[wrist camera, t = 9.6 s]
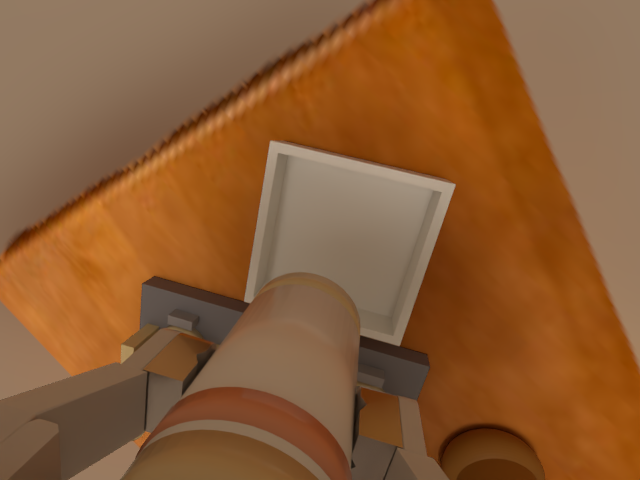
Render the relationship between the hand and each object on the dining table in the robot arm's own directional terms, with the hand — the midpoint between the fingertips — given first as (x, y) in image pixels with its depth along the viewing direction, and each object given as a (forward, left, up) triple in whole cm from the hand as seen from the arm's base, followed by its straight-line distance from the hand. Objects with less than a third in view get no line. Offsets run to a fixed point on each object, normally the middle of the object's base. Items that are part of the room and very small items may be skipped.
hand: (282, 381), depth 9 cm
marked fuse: (0, 0, -3) cm, 3 cm away
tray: (0, 0, -16) cm, 16 cm away
